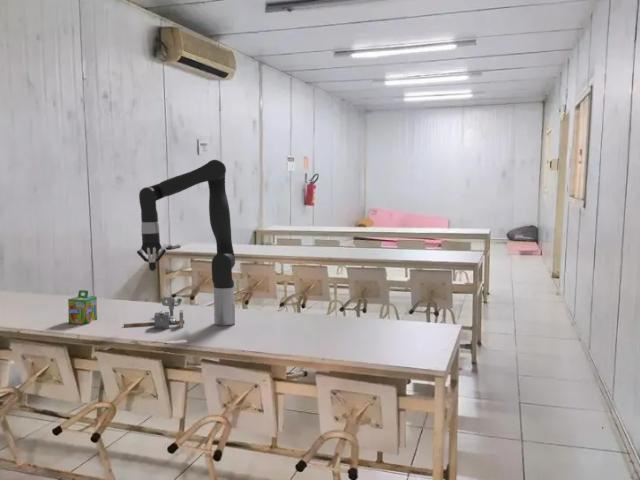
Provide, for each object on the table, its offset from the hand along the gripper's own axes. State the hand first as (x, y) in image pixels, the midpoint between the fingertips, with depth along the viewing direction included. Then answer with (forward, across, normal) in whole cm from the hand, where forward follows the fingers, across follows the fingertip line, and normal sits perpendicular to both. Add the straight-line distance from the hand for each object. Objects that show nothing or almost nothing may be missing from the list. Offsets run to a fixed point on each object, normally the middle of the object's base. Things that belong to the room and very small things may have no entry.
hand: (152, 270), depth 236 cm
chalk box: (+25, +33, -18) cm, 45 cm away
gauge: (+25, -4, +8) cm, 26 cm away
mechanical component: (+26, -7, -14) cm, 30 cm away
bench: (+26, +1, +7) cm, 27 cm away
